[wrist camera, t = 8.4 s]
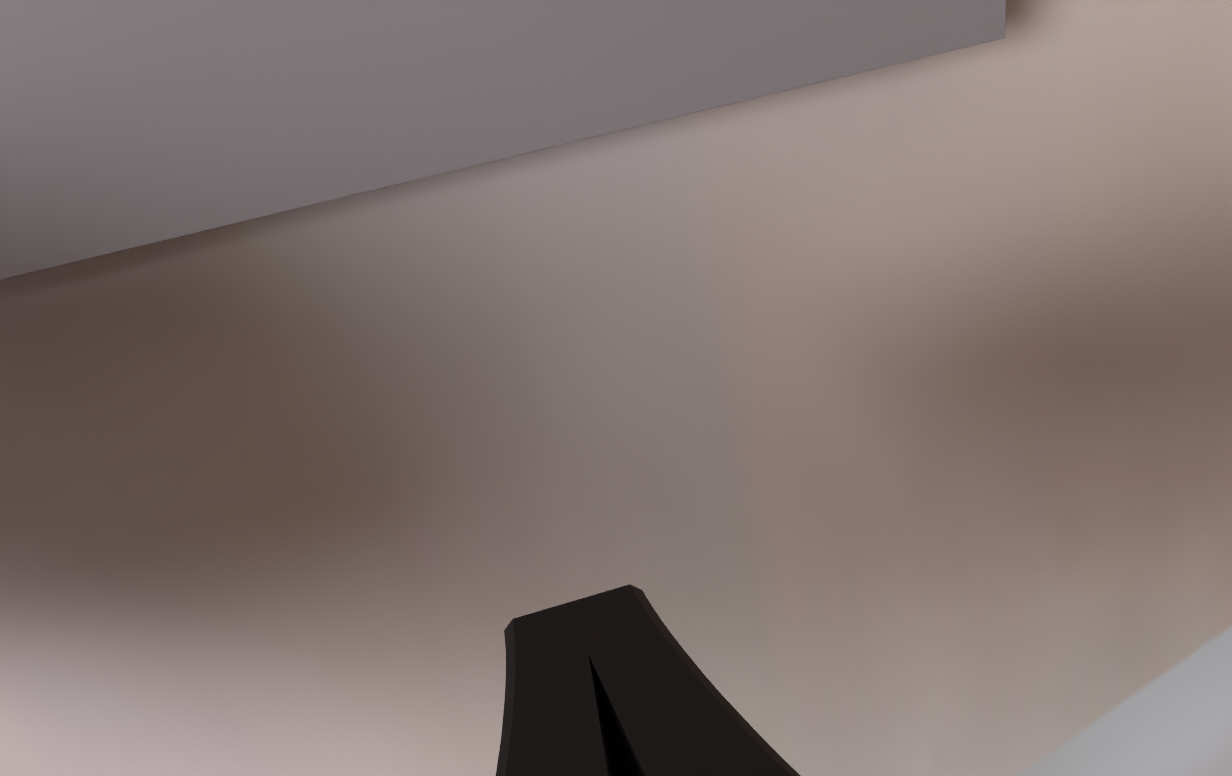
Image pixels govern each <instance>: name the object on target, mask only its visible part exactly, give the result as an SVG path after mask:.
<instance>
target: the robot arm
mask: <svg viewBox="0 0 1232 776" xmlns="http://www.w3.org/2000/svg"><path fill="white" fill-rule="evenodd" d="M504 633H505V644H506V688H505V704H504V715H503V726H502V736H501V744H500V751H499V758H498V765H497V772H496V776H800V775H799V774H798V773H797V772H796V771H795V770H794V769H793V768H792V767H791V766H790V765H789V764H788V763H787V762H786V761H785V760H784V759H783V758H782V757H781V756H780V755H779V754H778V753H777V752H776V751H775V750H774V749H773V748H772V747H771V746H770V745H769V744H768V743H767V742H766V741H765V740H764V739H763V738H762V737H761V736H760V735H759V734H758V733H757V732H756V731H755V730H754V729H753V728H752V727H751V726H750V725H749V723H748V722H747V721H746V720H745V719H744V718H743V717H742V716H741V715H740V714H739V713H738V712H737V711H736V710H735V709H734V707H733V706H732V705H731V704H730V703H729V702H728V701H727V700H726V699H725V698H724V697H723V696H722V695H721V693H720V692H719V691H718V690H717V689H716V688H715V687H714V685H713V684H712V683H711V682H710V681H709V680H708V679H707V677H706V676H705V675H704V674H703V673H702V672H701V670H700V669H699V668H698V667H697V665H696V664H695V663H694V662H693V661H692V659H691V658H690V657H689V656H688V655H687V653H686V652H685V651H684V650H683V648H682V647H681V646H680V645H679V643H678V642H677V641H676V639H675V638H674V637H673V635H672V634H671V633H670V632H669V630H668V629H667V627H666V626H665V625H664V623H663V622H662V621H661V619H660V618H659V616H658V615H657V613H656V612H655V610H654V609H653V607H652V606H651V604H650V603H649V601H648V599H647V598H646V596H645V594H644V592H643V591H642V590H641V589H639V588H637V587H634V586H632V585H626V586H623V587H620V588H616V589H613V590H609V591H606V592H603V593H599V594H596V595H592V596H589V597H586V598H582V599H579V600H575V601H572V602H569V603H565V604H562V605H558V606H555V607H552V608H548V609H545V610H542V611H538V612H535V613H531V614H528V615H525V616H521V617H518V618H514V619H512V621H511V622H510V624H509V625H508V626H507V628H506V629H505V630H504Z"/></svg>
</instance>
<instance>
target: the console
mask: <svg viewBox="0 0 1232 776" xmlns="http://www.w3.org/2000/svg"><path fill="white" fill-rule="evenodd" d="M1005 17H1006V0H0V280H1V279H5V278H9V277H13V276H17V275H22V274H26V273H30V272H34V271H38V270H42V269H47V268H51V267H55V266H59V265H63V264H67V263H72V262H76V261H80V260H84V259H88V258H92V257H96V256H101V255H105V254H109V253H113V252H117V251H121V250H126V249H130V248H134V247H138V246H142V245H146V244H150V243H155V242H159V241H163V240H167V239H171V238H175V237H180V236H184V235H188V234H192V233H196V232H200V231H205V230H209V229H213V228H217V227H221V226H225V225H229V224H234V223H238V222H242V221H246V220H250V219H254V218H259V217H263V216H267V215H271V214H275V213H279V212H283V211H288V210H292V209H296V208H300V207H304V206H308V205H313V204H317V203H321V202H325V201H329V200H333V199H338V198H342V197H346V196H350V195H354V194H358V193H362V192H367V191H371V190H375V189H379V188H383V187H387V186H392V185H396V184H400V183H404V182H408V181H412V180H417V179H421V178H425V177H429V176H433V175H437V174H441V173H446V172H450V171H454V170H458V169H462V168H466V167H471V166H475V165H479V164H483V163H487V162H491V161H495V160H500V159H504V158H508V157H512V156H516V155H520V154H525V153H529V152H533V151H537V150H541V149H545V148H550V147H554V146H558V145H562V144H566V143H570V142H574V141H579V140H583V139H587V138H591V137H595V136H599V135H604V134H608V133H612V132H616V131H620V130H624V129H629V128H633V127H637V126H641V125H645V124H649V123H653V122H658V121H662V120H666V119H670V118H674V117H678V116H683V115H687V114H691V113H695V112H699V111H703V110H707V109H712V108H716V107H720V106H724V105H728V104H732V103H737V102H741V101H745V100H749V99H753V98H757V97H762V96H766V95H770V94H774V93H778V92H782V91H786V90H791V89H795V88H799V87H803V86H807V85H811V84H816V83H820V82H824V81H828V80H832V79H836V78H840V77H845V76H849V75H853V74H857V73H861V72H865V71H870V70H874V69H878V68H882V67H886V66H890V65H895V64H899V63H903V62H907V61H911V60H915V59H919V58H924V57H928V56H932V55H936V54H940V53H944V52H949V51H953V50H957V49H961V48H965V47H969V46H974V45H978V44H982V43H986V42H990V41H994V40H998V39H1003V38H1005Z"/></svg>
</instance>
